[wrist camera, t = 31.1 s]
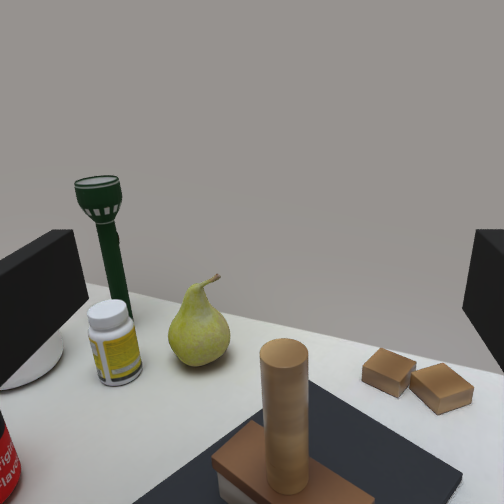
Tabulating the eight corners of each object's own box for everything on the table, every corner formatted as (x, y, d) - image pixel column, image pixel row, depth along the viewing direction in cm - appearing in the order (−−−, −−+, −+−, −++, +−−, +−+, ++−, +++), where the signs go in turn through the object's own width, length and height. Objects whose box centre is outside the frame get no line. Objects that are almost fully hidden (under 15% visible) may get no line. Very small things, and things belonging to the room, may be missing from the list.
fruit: (199, 336, 52) (189, 249, 47) (247, 354, 48) (240, 261, 43) (160, 364, 47) (144, 270, 42) (210, 388, 43) (198, 287, 38)
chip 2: (408, 388, 41) (410, 372, 41) (440, 377, 42) (443, 362, 42) (437, 415, 38) (439, 398, 37) (471, 403, 39) (474, 386, 38)
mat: (104, 532, 29) (102, 525, 29) (304, 383, 43) (304, 377, 43) (253, 791, 18) (252, 783, 18) (461, 480, 32) (463, 473, 31)
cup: (56, 332, 55) (37, 264, 51) (74, 370, 47) (53, 293, 43) (-32, 363, 49) (-61, 290, 46) (-27, 410, 42) (-61, 327, 38)
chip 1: (361, 381, 43) (362, 365, 42) (379, 362, 45) (380, 347, 45) (398, 398, 40) (399, 382, 39) (414, 377, 43) (416, 361, 42)
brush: (215, 496, 31) (195, 338, 25) (254, 458, 34) (243, 309, 28) (336, 601, 24) (344, 417, 19) (371, 541, 27) (386, 368, 22)
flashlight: (148, 328, 54) (122, 180, 47) (109, 340, 52) (75, 187, 45) (140, 311, 59) (115, 173, 51) (103, 321, 57) (71, 179, 49)
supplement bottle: (150, 362, 48) (138, 299, 44) (128, 390, 43) (114, 322, 40) (114, 357, 49) (100, 295, 46) (90, 383, 45) (73, 318, 41)
